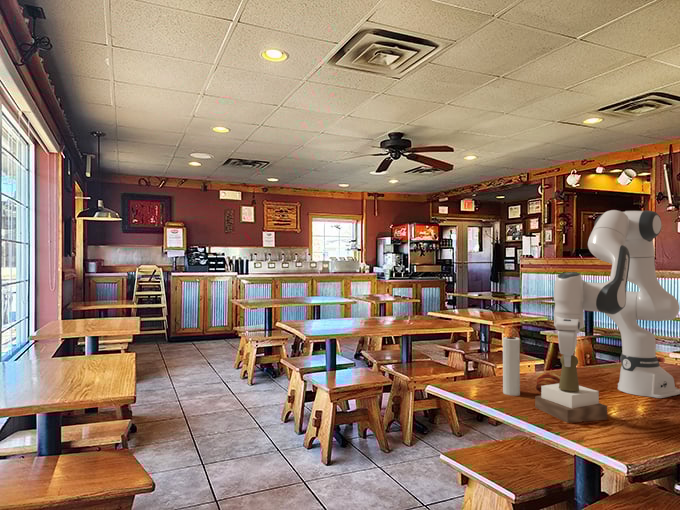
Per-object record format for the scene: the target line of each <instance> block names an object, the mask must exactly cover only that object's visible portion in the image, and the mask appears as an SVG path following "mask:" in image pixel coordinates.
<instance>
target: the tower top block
mask: <svg viewBox="0 0 680 510" xmlns="http://www.w3.org/2000/svg"><path fill="white" fill-rule="evenodd" d="M599 392H600V391H599V390H595V389H594V388H593V389H592V388H589V387H586V386H582V385H579V391H568V390H562V389H559V383H558V384H551V385H544V386H541V392H540V393H541V394H540V396H541V398H543V399H546V400H549V401H552V402H555V403H558V404H561V405H564V406H566V407H569V408H577V407H583V406H588V405H594V404H599V403H600V400H599V399H600V398H599V396H600V395H599Z"/></svg>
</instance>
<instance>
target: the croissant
mask: <svg viewBox="0 0 680 510" xmlns="http://www.w3.org/2000/svg"><path fill="white" fill-rule="evenodd" d="M560 376H561V375H558V374H556V373H553V372H544V373H541V374H539V375H538V376H537V377H536V380H535V382H536V383H535V384H536V386H535V389H536V391H537V392H539V393H541V386H544V385H551V384H558V383H560Z"/></svg>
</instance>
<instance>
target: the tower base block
mask: <svg viewBox="0 0 680 510" xmlns="http://www.w3.org/2000/svg"><path fill="white" fill-rule="evenodd" d="M534 397H535V401H534V406H535V407H534V408H536V409H537V410H539V411H542V412H544V413H546V414H548V415H551V416H552V417H554V418H557V419H559V420H561V421H563V422H566V423H567V424H569V423H570V422H572V423H583V422H582V421H584V422H592V421H606V420H608V405H605V404H602V403H601V402H599V404H594V405H588V406H583V407H577V408H569V407H566V406H564V405H561V404H558V403H555V402H552V401H549V400H546V399H543V398H541V395H535V396H534Z"/></svg>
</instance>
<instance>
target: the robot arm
mask: <svg viewBox="0 0 680 510" xmlns="http://www.w3.org/2000/svg"><path fill="white" fill-rule="evenodd" d="M661 230H662V219H661V216H660V215H659V214H658V213H657V212H656V211H652V210H625V211H621V210H617V209H611V210H607V211H605V212H604V213H603V214H601V215H598V217H597V218H596V219H595V221H594V226H593V228H592V231H591V232H590V234H589V237H588V241H587V248H588V250H589V252H590V253H591V254H592V255H593V256H594V257H595V258H596V259H598V260H599V261H602V262H606V263H609V264H610V265H611V269H610V277H609V280H608V281H605V282H589V281H586V280H584V279H583V277H582V274H581V273H579V272H576V271H575V272H571V271H570V272H569V271H568V272H562V273H559V274H557V276H556V277H555V280H554V287H553V289H554V290H553V301H554V311H553V326H554V327H555V330H557V338H558V348H559V353H560V354H561V355H564V366H565V367H570V366H571V355H573V356H574V352H575V349H576V348H577V344H578V334H579V333H580V329H584V328H585V325H584V323H585V318H584V317H585V313H584V311H587V312H598V313H603V314H605V315H606V316H607V317H608V318H609V319H611V320H612V321H613V322H614V323H615V325H616V327H617V328H618V330H619V332H620V337H621V346H622V347H621V350H622V352H621V354H620V362H621V366H620V370H619V371H620V373H619V381H618V382H617V390H618V391H620V392H623V393H626V394H630V395H635V396H641V397H650V398H656V399H662V398H663V399H664V398H668V397H672V396H677V395H680V388H678V387H676V385H675V378H674V377H673V375H672V374H670V373H669V372H668V371H666V370H665V369H664V368H663V367H661V364H664V363H665V362H666V359H665V357H661V356H657V347H656V346H657V345H656V341H657V339H656V337H655V335H654V334H653V333H652V332H650V331H649V330H647V329H645V328H644V327H641V326H640V325H639V324H638V322H637V321H649V322H650V321H653V322H663V321H664V322H666V321H673V320H674V319H676V317H677V316H678V314H679V312H680V303H679V300H678V299H677V298H676V297H675V296H674V295H673V294H671V293H670V292H668V291H666V290H665V288H664V287H663V286H662V285H661V283H660V282H659V280H658V277H657V272H656V265H655V263H656V262H655V247H654V241H653V240H654V239H655V238H657V236H659V234H660V233H661ZM628 282H629V283H631V284H634V285H635V286H637V288H638V289H639V290H638V291H629V290H627V287H628V285H627V284H628ZM660 363H661V364H660Z"/></svg>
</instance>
